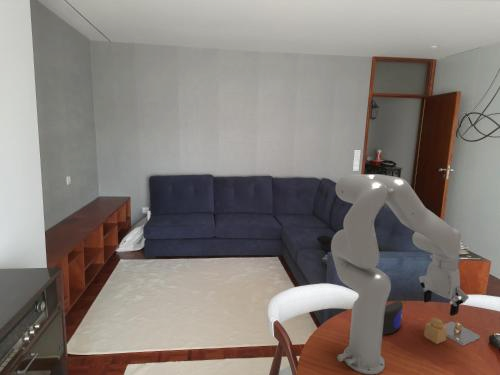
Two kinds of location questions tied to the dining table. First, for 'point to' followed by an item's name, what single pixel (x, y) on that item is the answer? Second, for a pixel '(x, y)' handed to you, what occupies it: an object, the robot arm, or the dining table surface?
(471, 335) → the plate
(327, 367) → the dining table surface
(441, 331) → the cube with dome knob
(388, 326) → the grey blue curved piece
